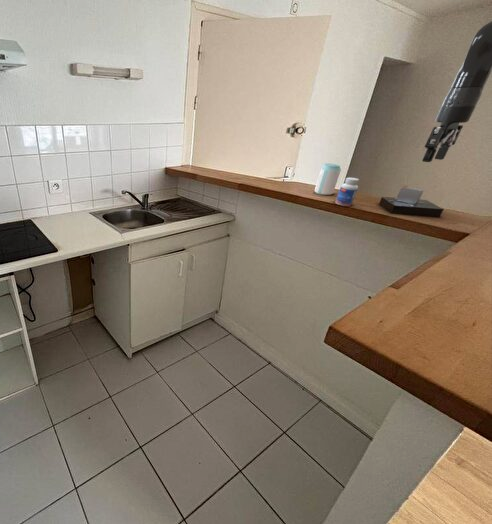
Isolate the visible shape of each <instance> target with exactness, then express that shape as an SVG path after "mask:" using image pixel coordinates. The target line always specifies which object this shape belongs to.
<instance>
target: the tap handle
mask: <svg viewBox="0 0 492 524" xmlns="http://www.w3.org/2000/svg"><path fill="white" fill-rule="evenodd" d="M424 192H425V189H421V188H417V187H416V188H415V187H410V186H408V185H402V186H401V187H400V189H399V191H398V193H397V195H396V197H395V198H396V201H401V202H405V203H410V204H414V205H416V204H418V202H419V200H420V199H421V197H422V196H423V194H424Z"/></svg>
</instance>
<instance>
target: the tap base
mask: <svg viewBox="0 0 492 524" xmlns="http://www.w3.org/2000/svg"><path fill="white" fill-rule="evenodd" d="M396 198H397V197H390V196H382V197H381V199H380V201H379V202H378V205H379V206H380V207H381V208H383V209H384V210H386V211H387V212H388V213H389V214H391V215H404V216H414V217H415V216H416V217H427V218H437V219H438V218H440V217H441V215H442V214H443V212H444V210H445V209H444V208H442V207H441V206H439V205H437V204H435V203H433V202H432V201H429V200H428V199H421V198H420V200H419V202H418V204H416V205H414V204H410V203H405V202H401V201H396Z"/></svg>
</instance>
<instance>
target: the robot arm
mask: <svg viewBox="0 0 492 524" xmlns="http://www.w3.org/2000/svg"><path fill="white" fill-rule="evenodd" d="M491 75H492V20H491V21H488V22H487V23H485V24H484V25H482V26H481V27H480V28H479V29H478V30H477V31H476V33H474V35H473V37H472V39H471V41H470V45H469V47H468V50H467V52H466V55H465V58H464V60H463V63H462V65H461V66H460V68H459V70H458V72H457V73H456V75H455V77H454V80H453V81H452V84H451V87H450V88H449V90H448V91H447V93H446V95H445V98H444V99H443V102H442V104H441V106H440V108H439V111H438V113H437V115H436V118H435V120H434V122H436V123H440V124H439V125H438V126H434V127H432V130H431V132H430V134H429V136H428V138H427V140H426V142H425V144H424V148H426V151H425V153H424V155H423V158H422V159H421V160H422V162H424V163H432V161H433V159H434V160H439V161H441V160H445V157H446V156H447V154H448V150H449V149H450V148H451V147H452V146H454V145H456V143H457V140H458V138H459V136H460V134H461V131H462V130H463V127H464V124H465V123H468V122H469V121H470V119H471V117H472V115H473V113H474V111H475V109H476V107H477V105H478V103H479V101H480V99H481V96H482V94H483V91H484V89H485V86H486V85H487V82H488V81H489V78H490V76H491Z"/></svg>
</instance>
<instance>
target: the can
mask: <svg viewBox="0 0 492 524" xmlns="http://www.w3.org/2000/svg"><path fill="white" fill-rule="evenodd" d="M341 171H342V169H341V165H340V164H337V163H324V164H323V166H322V167H321V168H320V171H319V175H318V177H317V180H316V184H315V188H314V192H315V194H317V195H319V196H320V195H321V196H331V195H333V194H334V192H335V188H336V186H337V183H338V180H339V177H340V174H341Z"/></svg>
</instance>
